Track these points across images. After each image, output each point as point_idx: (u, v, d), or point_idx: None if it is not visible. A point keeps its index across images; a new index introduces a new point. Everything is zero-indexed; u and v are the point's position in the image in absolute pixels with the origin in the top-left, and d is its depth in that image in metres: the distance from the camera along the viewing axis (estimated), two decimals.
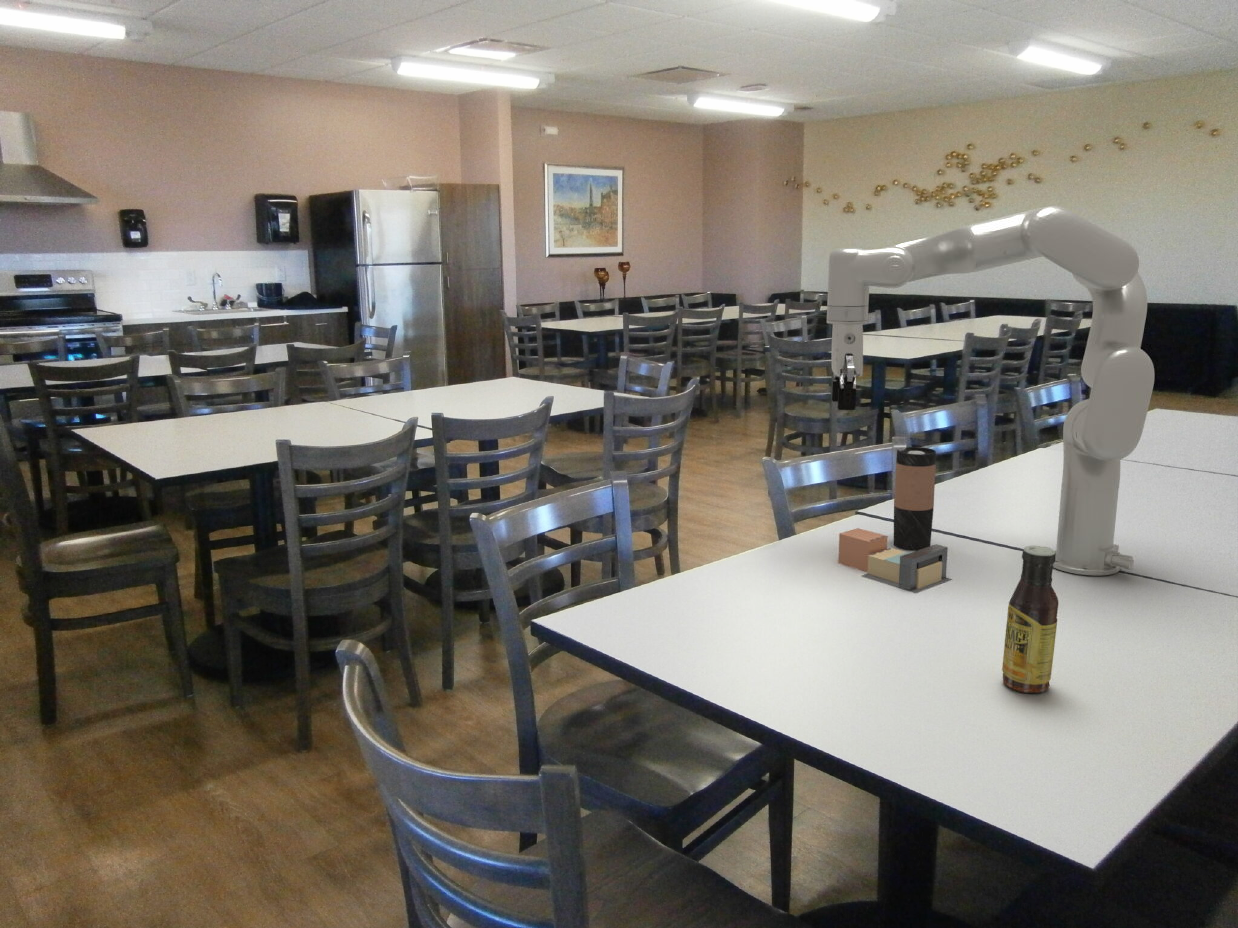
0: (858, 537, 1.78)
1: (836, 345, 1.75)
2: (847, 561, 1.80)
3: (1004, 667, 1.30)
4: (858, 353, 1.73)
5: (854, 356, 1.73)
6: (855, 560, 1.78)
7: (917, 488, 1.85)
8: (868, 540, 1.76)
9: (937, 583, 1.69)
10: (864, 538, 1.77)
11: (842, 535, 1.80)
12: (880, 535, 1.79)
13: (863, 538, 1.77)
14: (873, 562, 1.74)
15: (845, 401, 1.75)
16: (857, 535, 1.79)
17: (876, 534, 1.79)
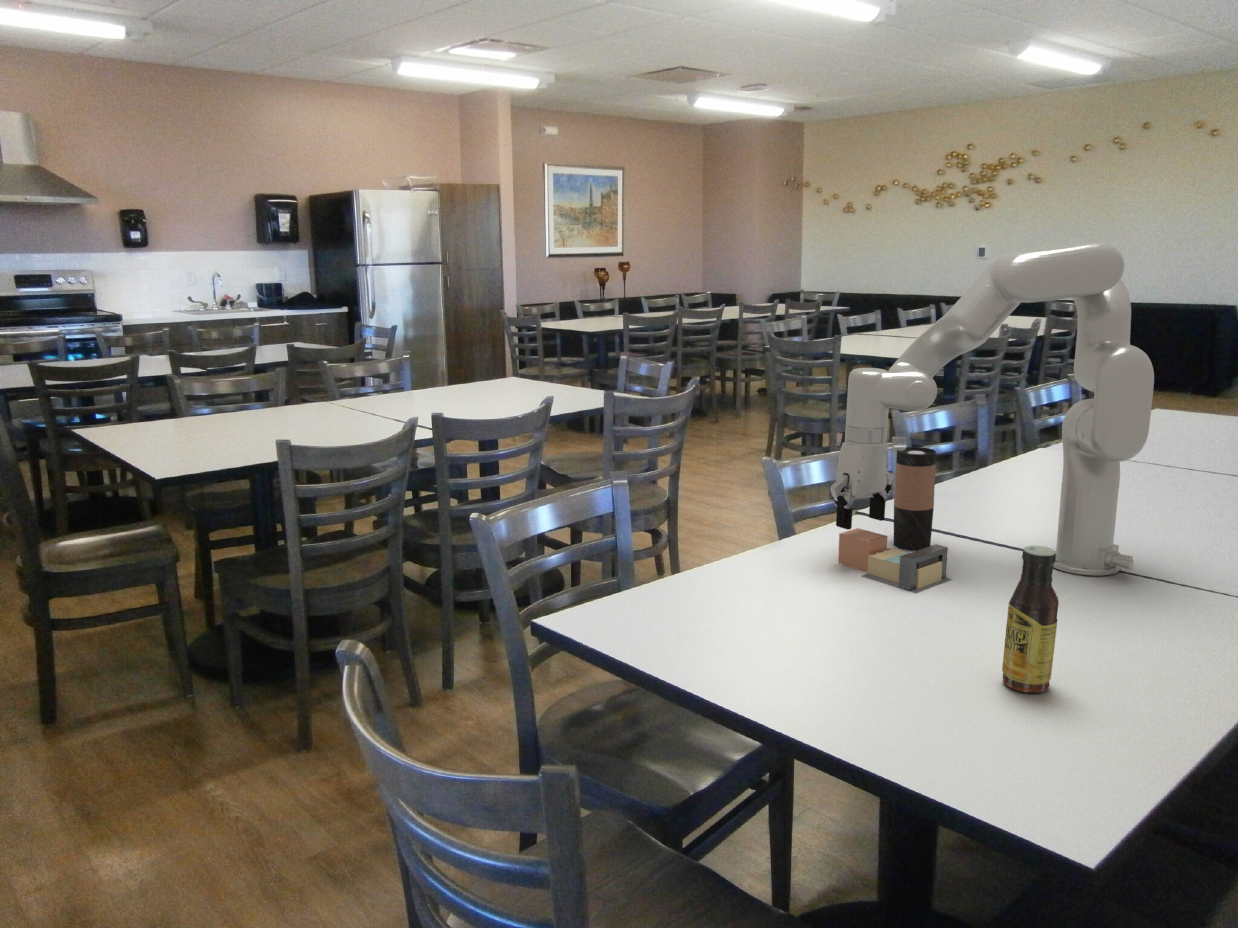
0: (858, 537, 1.78)
1: (886, 462, 1.77)
2: (847, 561, 1.80)
3: (1004, 667, 1.30)
4: None
5: None
6: (855, 560, 1.78)
7: (917, 488, 1.85)
8: (868, 540, 1.76)
9: (937, 583, 1.69)
10: (864, 538, 1.77)
11: (842, 535, 1.80)
12: (880, 535, 1.79)
13: (863, 538, 1.77)
14: (873, 562, 1.74)
15: None
16: (857, 535, 1.79)
17: (876, 534, 1.79)
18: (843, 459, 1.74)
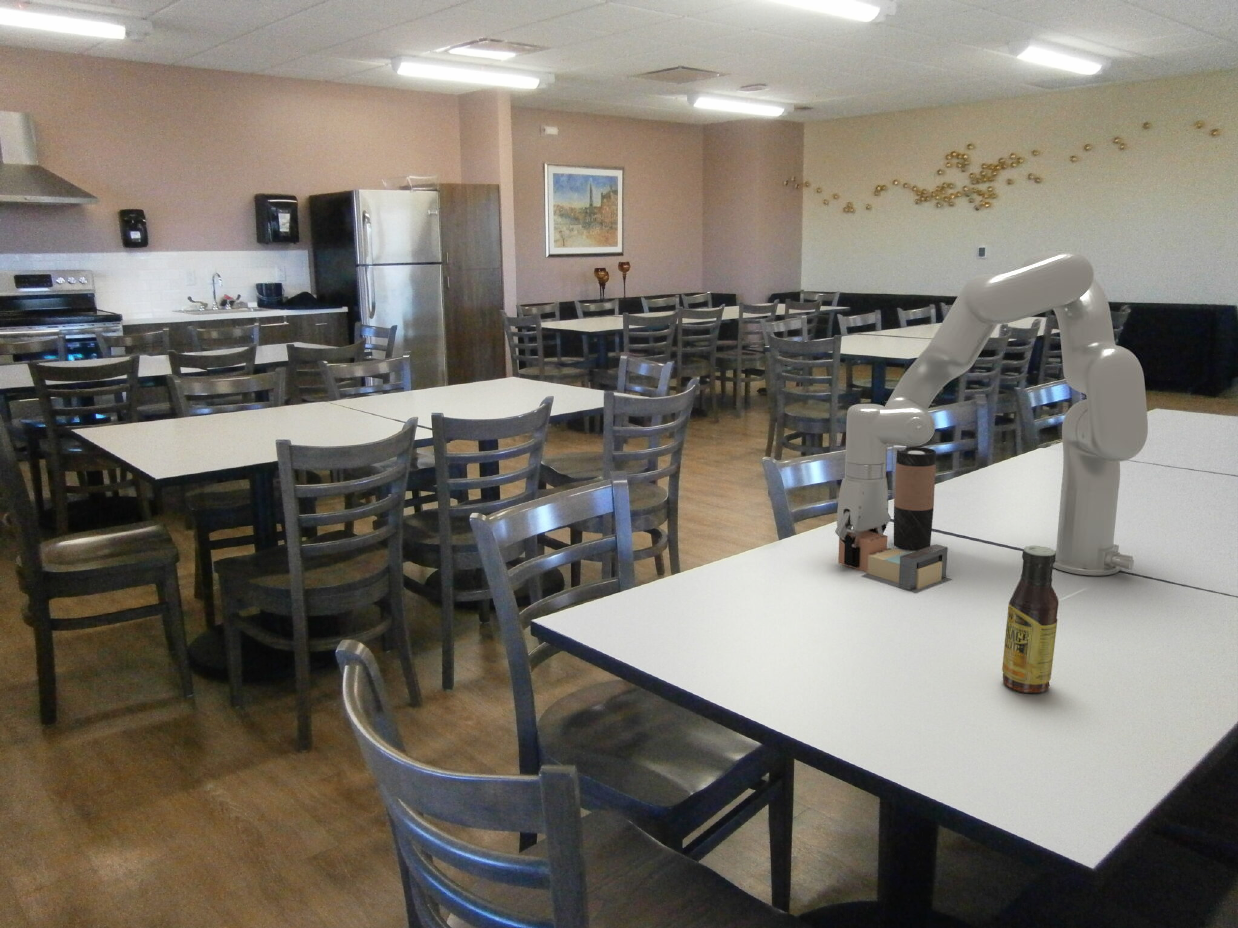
0: None
1: (886, 496, 1.78)
2: None
3: (1004, 667, 1.30)
4: None
5: None
6: None
7: (917, 488, 1.85)
8: (868, 540, 1.76)
9: (937, 583, 1.69)
10: (864, 538, 1.77)
11: None
12: (880, 535, 1.79)
13: (863, 538, 1.77)
14: (873, 562, 1.74)
15: None
16: None
17: (876, 534, 1.79)
18: (843, 495, 1.75)
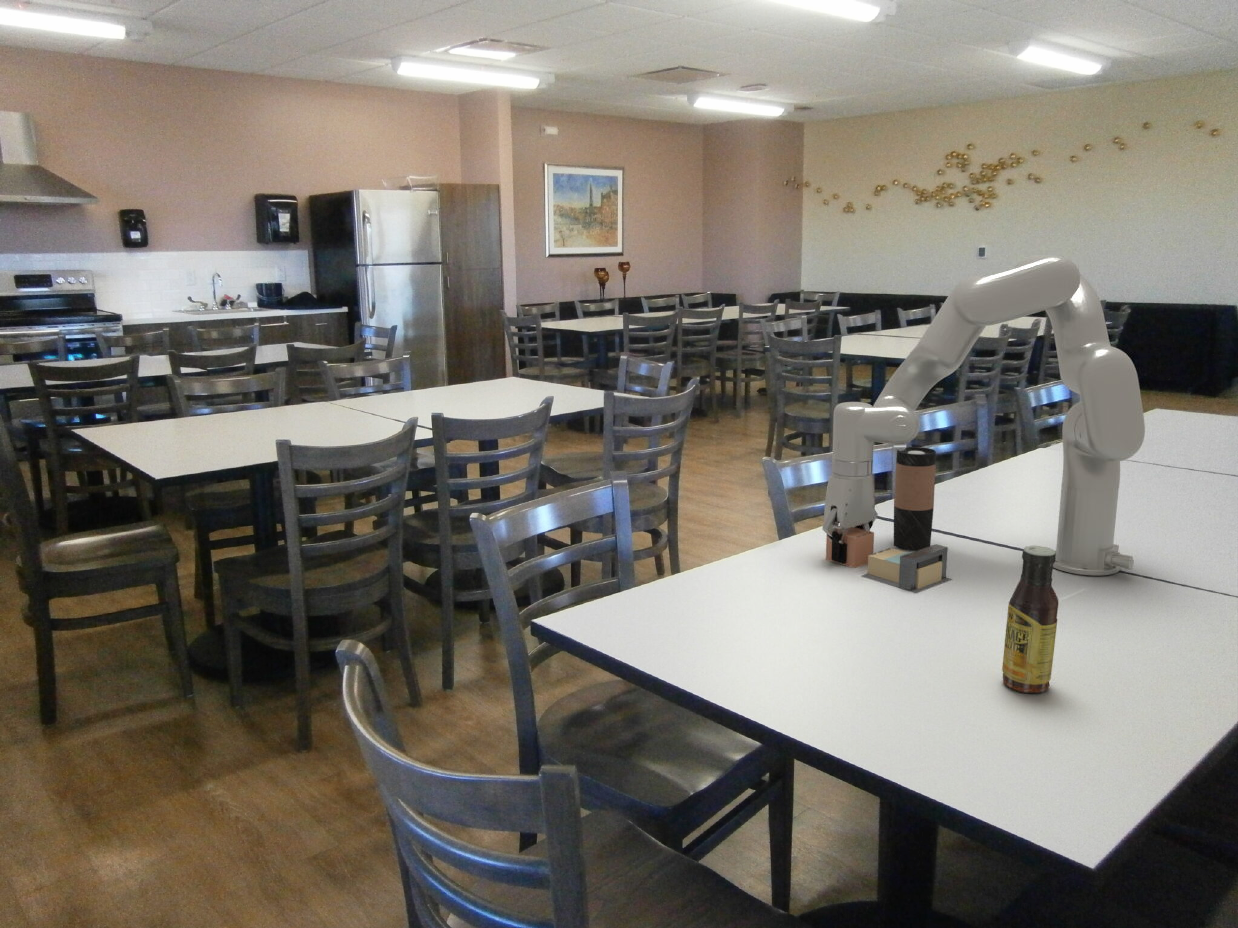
0: None
1: (872, 493, 1.81)
2: None
3: (1004, 667, 1.30)
4: None
5: None
6: None
7: (917, 488, 1.85)
8: (855, 536, 1.78)
9: (937, 583, 1.69)
10: (851, 534, 1.79)
11: None
12: (867, 531, 1.81)
13: (850, 534, 1.79)
14: (873, 562, 1.74)
15: None
16: None
17: (863, 530, 1.82)
18: (830, 492, 1.78)
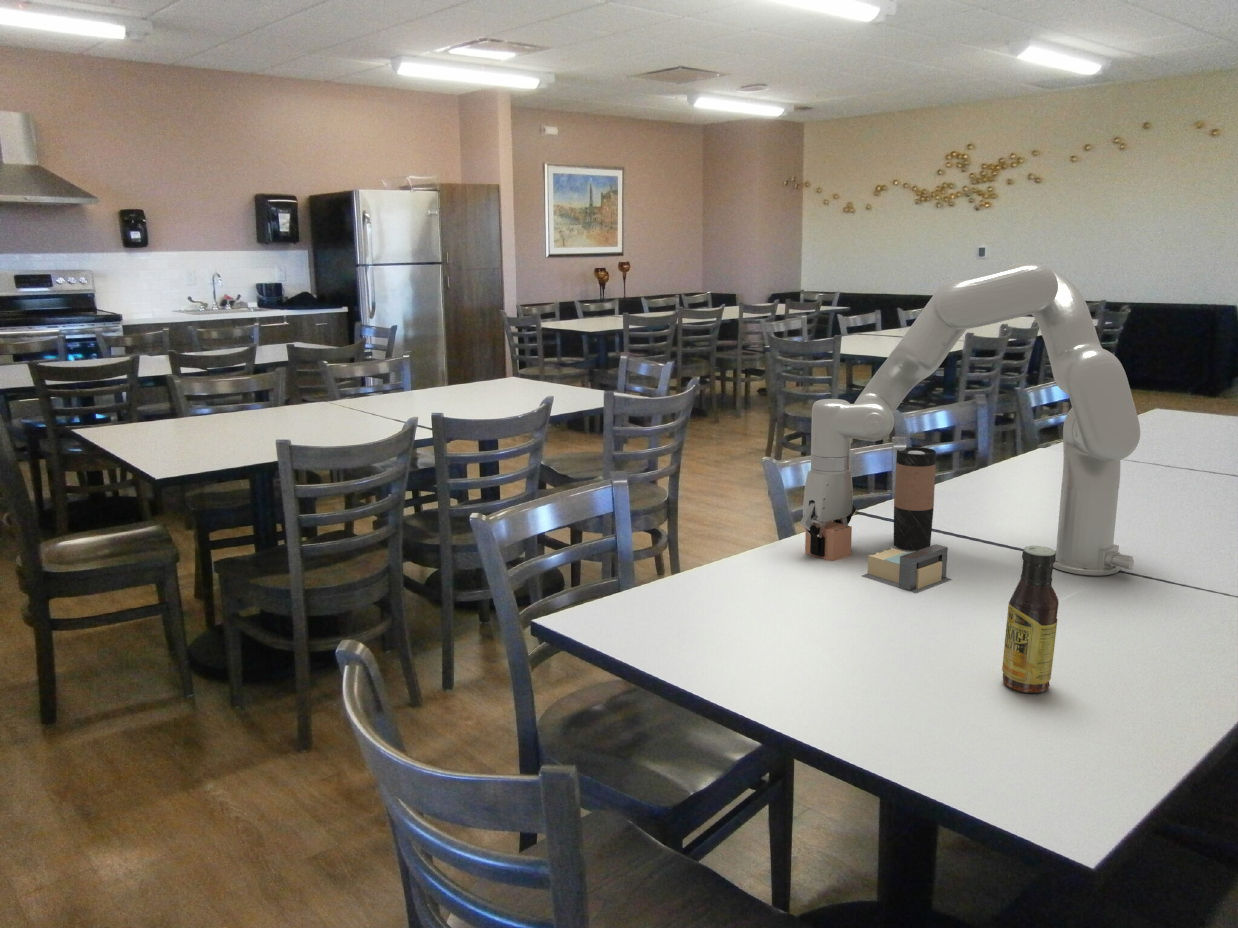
0: None
1: (850, 488, 1.85)
2: None
3: (1004, 667, 1.30)
4: None
5: None
6: None
7: (917, 488, 1.85)
8: (832, 530, 1.82)
9: (937, 583, 1.69)
10: (829, 528, 1.84)
11: None
12: (845, 526, 1.85)
13: (828, 528, 1.84)
14: (873, 562, 1.74)
15: None
16: None
17: (841, 525, 1.86)
18: (809, 487, 1.82)
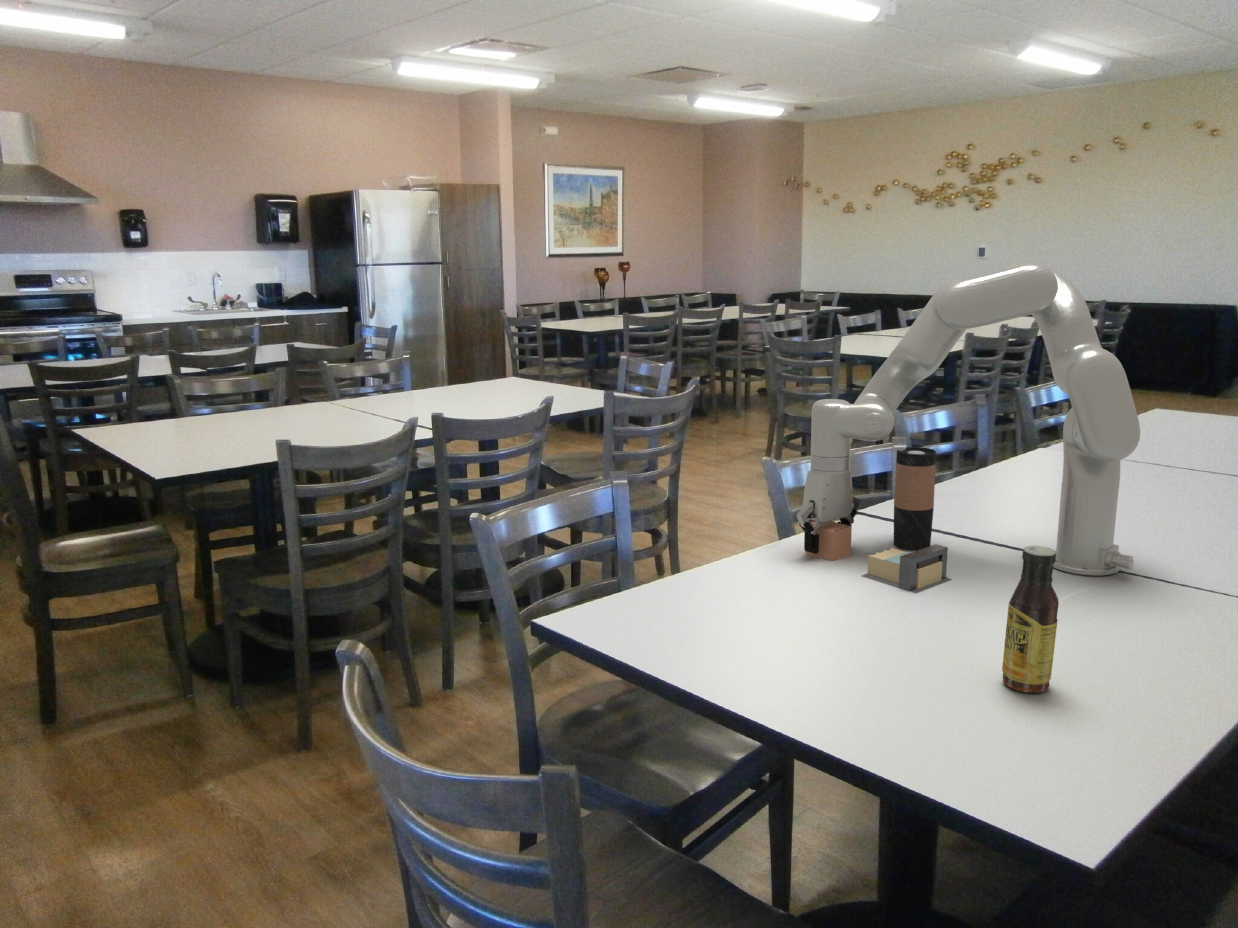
0: (823, 527, 1.85)
1: (850, 488, 1.85)
2: None
3: (1004, 667, 1.30)
4: None
5: None
6: (820, 549, 1.85)
7: (917, 488, 1.85)
8: (832, 530, 1.82)
9: (937, 583, 1.69)
10: (829, 528, 1.84)
11: None
12: (844, 526, 1.85)
13: (828, 528, 1.84)
14: (873, 562, 1.74)
15: None
16: (822, 525, 1.86)
17: (841, 525, 1.86)
18: (809, 487, 1.82)
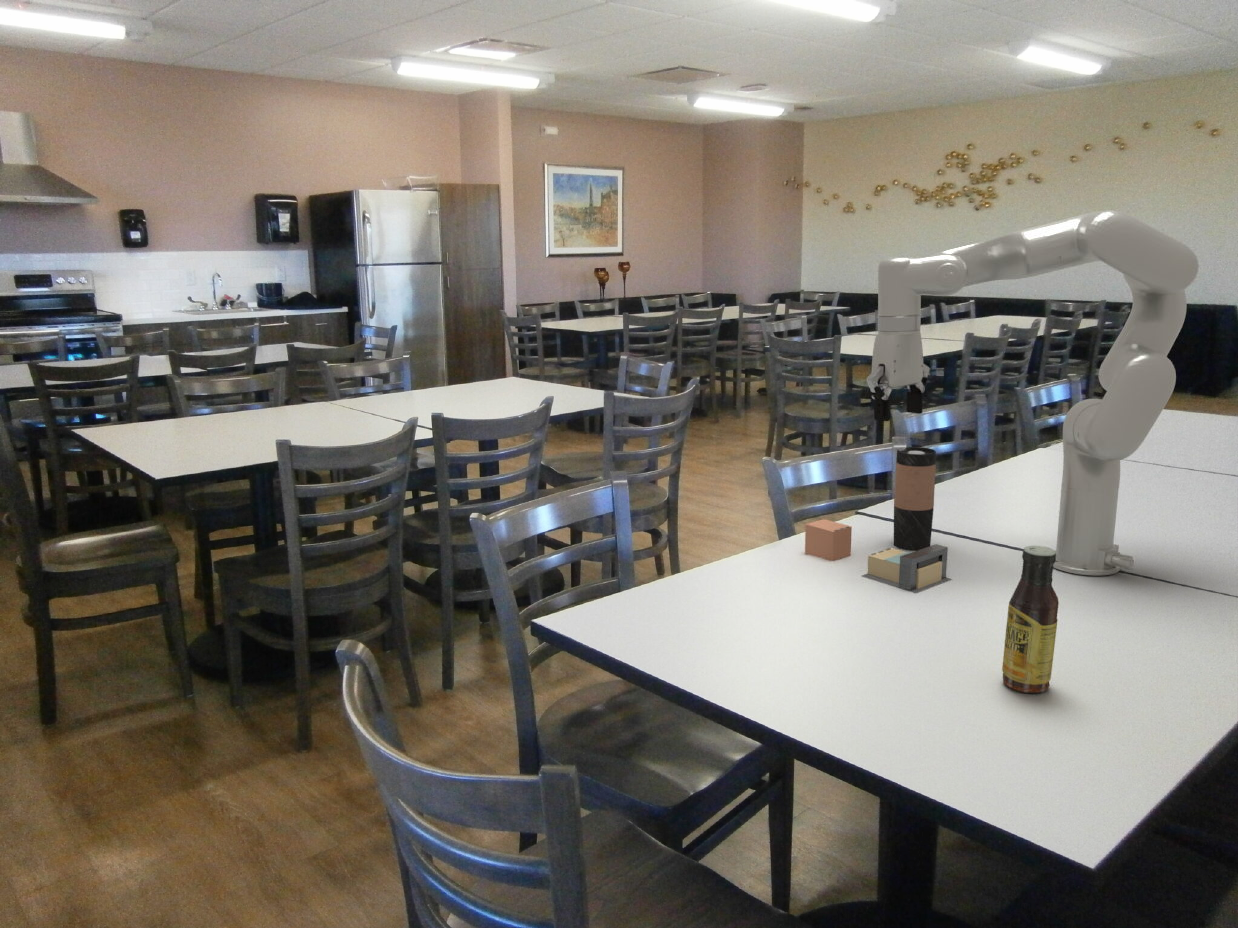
0: (823, 527, 1.85)
1: (921, 352, 1.75)
2: (813, 551, 1.86)
3: (1004, 667, 1.30)
4: None
5: None
6: (820, 549, 1.85)
7: (917, 488, 1.85)
8: (832, 530, 1.82)
9: (937, 583, 1.69)
10: (829, 528, 1.84)
11: (808, 526, 1.86)
12: (844, 526, 1.85)
13: (828, 528, 1.84)
14: (873, 562, 1.74)
15: None
16: (822, 525, 1.86)
17: (841, 525, 1.86)
18: (878, 350, 1.73)
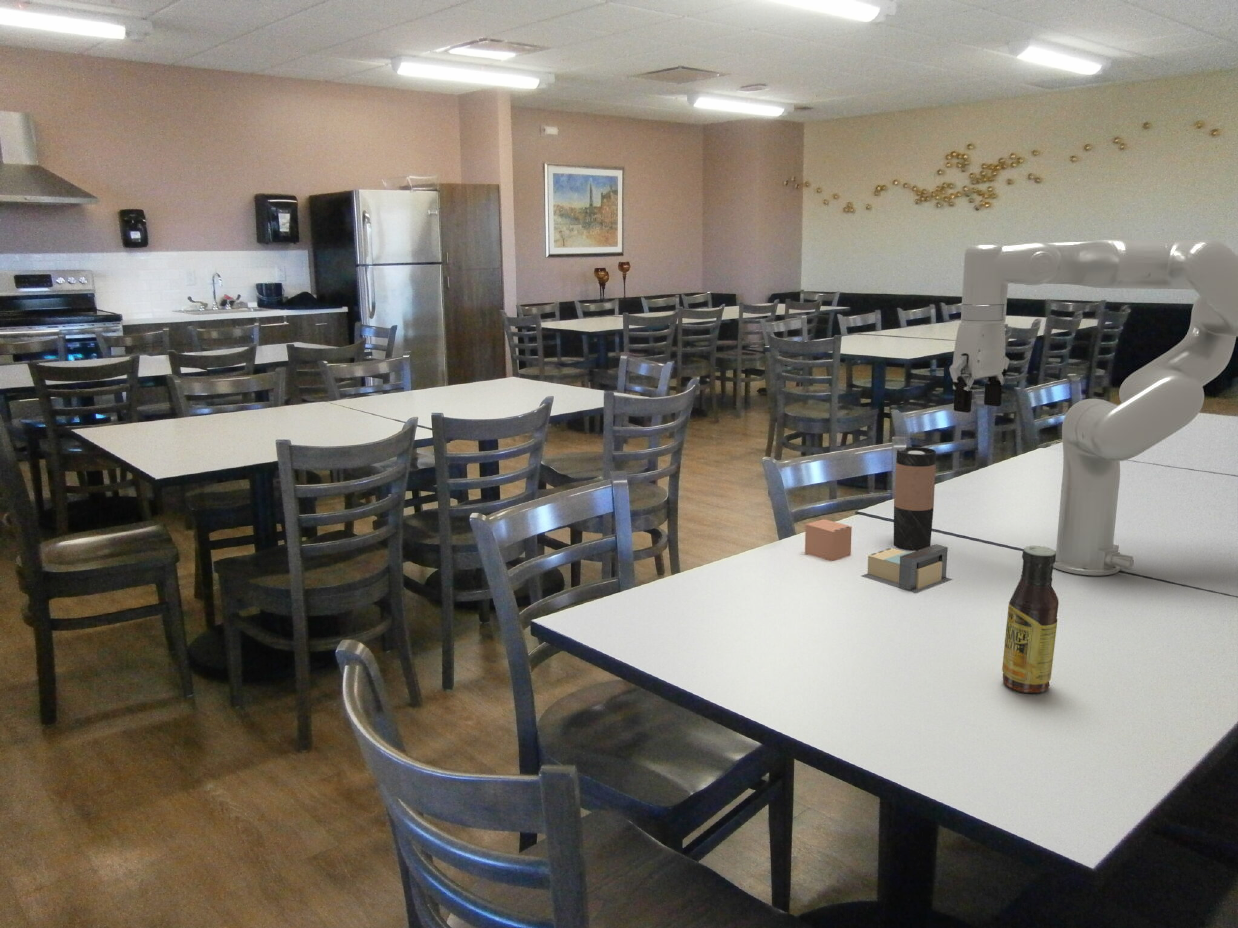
0: (823, 527, 1.85)
1: (1003, 343, 1.71)
2: (813, 551, 1.86)
3: (1004, 667, 1.30)
4: None
5: None
6: (820, 549, 1.85)
7: (917, 488, 1.85)
8: (832, 530, 1.82)
9: (937, 583, 1.69)
10: (829, 528, 1.84)
11: (808, 526, 1.86)
12: (844, 526, 1.85)
13: (828, 528, 1.84)
14: (873, 562, 1.74)
15: None
16: (822, 525, 1.86)
17: (841, 525, 1.86)
18: (961, 339, 1.68)
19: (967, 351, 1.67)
